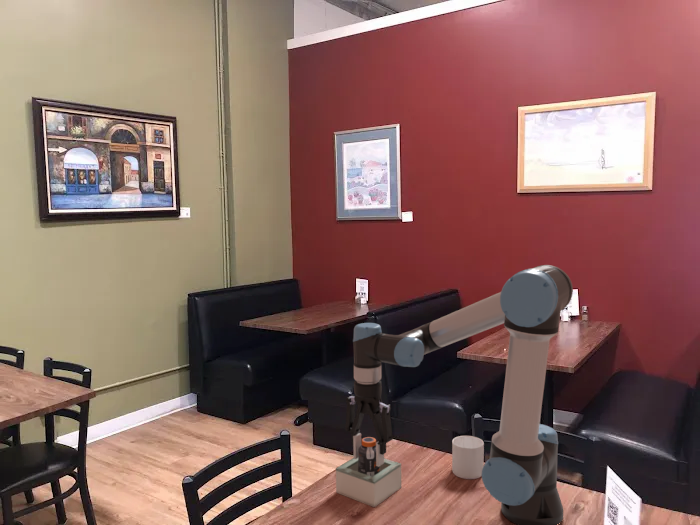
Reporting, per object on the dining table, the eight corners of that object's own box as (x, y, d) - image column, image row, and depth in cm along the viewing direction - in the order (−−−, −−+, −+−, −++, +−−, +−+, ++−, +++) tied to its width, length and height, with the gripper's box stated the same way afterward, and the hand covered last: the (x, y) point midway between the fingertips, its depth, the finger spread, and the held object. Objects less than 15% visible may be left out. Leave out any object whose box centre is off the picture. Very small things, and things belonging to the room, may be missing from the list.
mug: (485, 480, 165) (486, 448, 164) (453, 479, 165) (453, 448, 164) (479, 461, 177) (479, 431, 176) (449, 460, 177) (449, 431, 176)
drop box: (401, 487, 161) (401, 463, 160) (374, 507, 151) (374, 481, 150) (364, 474, 169) (363, 451, 168) (336, 492, 159) (335, 468, 158)
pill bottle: (378, 484, 156) (377, 444, 155) (356, 482, 157) (356, 443, 156) (381, 474, 162) (380, 435, 161) (360, 472, 163) (360, 434, 162)
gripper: (406, 383, 153) (406, 465, 156) (347, 370, 165) (348, 447, 168) (390, 390, 147) (391, 476, 150) (330, 377, 160) (332, 456, 162)
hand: (368, 460), depth 159 cm, fingers open, 7 cm apart
